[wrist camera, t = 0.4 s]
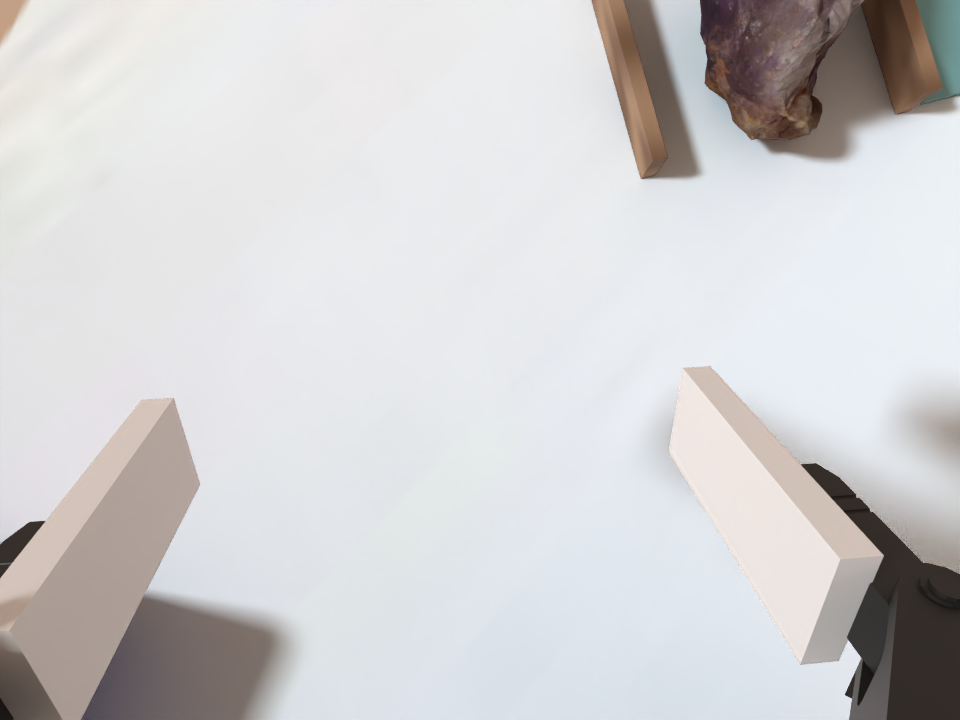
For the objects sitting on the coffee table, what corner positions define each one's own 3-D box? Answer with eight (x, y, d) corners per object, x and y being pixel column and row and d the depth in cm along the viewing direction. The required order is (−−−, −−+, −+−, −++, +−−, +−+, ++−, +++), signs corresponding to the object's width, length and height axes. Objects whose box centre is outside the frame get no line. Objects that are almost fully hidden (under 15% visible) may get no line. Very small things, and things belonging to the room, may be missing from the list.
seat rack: (1163, 46, 33) (1218, 18, 31) (640, 178, 33) (652, 161, 31) (1098, -146, 34) (1146, -189, 32) (587, -17, 34) (594, -49, 32)
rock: (843, 11, 35) (687, -49, 35) (969, -135, 27) (764, -213, 27) (795, 175, 33) (627, 110, 33) (918, 71, 24) (692, -16, 24)
